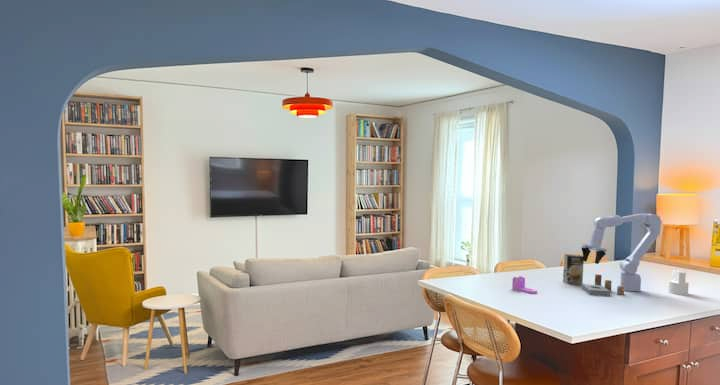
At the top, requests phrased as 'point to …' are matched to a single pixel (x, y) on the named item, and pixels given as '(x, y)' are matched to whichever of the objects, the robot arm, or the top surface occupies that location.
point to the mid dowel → (608, 284)
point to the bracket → (522, 285)
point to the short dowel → (620, 290)
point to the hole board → (595, 290)
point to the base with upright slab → (678, 283)
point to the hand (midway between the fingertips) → (590, 262)
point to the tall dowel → (598, 279)
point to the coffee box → (573, 269)
